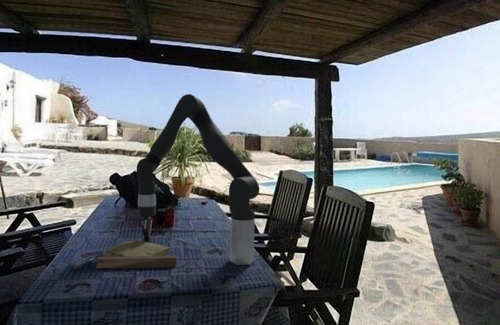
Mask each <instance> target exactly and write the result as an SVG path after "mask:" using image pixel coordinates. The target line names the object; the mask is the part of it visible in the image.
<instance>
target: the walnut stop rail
mask: <svg viewBox="0 0 500 325" xmlns="http://www.w3.org/2000/svg"><path fill="white" fill-rule="evenodd" d="M177 260H178V256H177V255H164V256H127V257H105V256H98V257H97V258H96V270H97V269H98V268H100V269H101V268H110V269H137V268H138V269H139V268H140V269H141V268H142V269H143V268H144V269H145V268H177V265H178V264H177V263H178V261H177ZM100 269H98V270H100ZM101 270H102V269H101Z"/></svg>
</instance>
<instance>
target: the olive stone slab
mask: <svg viewBox="0 0 500 325" xmlns="http://www.w3.org/2000/svg"><path fill="white" fill-rule="evenodd" d="M169 253H171V247H170V246H168V245H163V244H158V243H152V242H150V243H148V242H144V241H142V240H138V239H132V240H129V241H125V242H121V243H119V244H116V245H114V246H111V247H109V248H107V249H106V250H105V253H104V254H103V257H127V256H167V255H168V254H169Z"/></svg>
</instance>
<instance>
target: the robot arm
mask: <svg viewBox="0 0 500 325" xmlns="http://www.w3.org/2000/svg"><path fill="white" fill-rule="evenodd" d="M187 119H189V120H190V121H191V122H192V123H193V124H194V125H195V127H196V128H197V129H198V132H199V134H200V138H201V141H202V143H203V146H204V149H205V150H206V151H207V153H208V155H209V156H210V157H211V160H213V161H214V162H215V163H216V164H218V166H220V167H221V168H223V169H224V170H225V171H227V173H228V174H229V175H230V176H231V177H232V178H233V179H232V180H231V182H230V184H229V188H228V208H229V212H230V235H229V236H230V240H229V242H230V243H229V246H230V247H229V262H230V263H231V264H234V266H241V265H244V266H246V265H252V263H253V262H254V248H255V244H254V243H255V222H256V221H255V220H256V219H255V216H256V215H255V213H256V212H255V211H254V210H253V209H252V208H251V207H250V200H253V199H255V198H257V197H258V196H259V193H260V185H259V182H258V180H257V179H256V178H255V177H254V176H253V174H252V173H251V172H250V171H249V170H248V168H247V166H245V164H244V163H243V161H241V159H240V157H239V156H238V154H237V153H236V152H235V149H233V147H232V145H231V144H230V142H229V141H228V139H227V137H226V136H225V135H224V134H223V132H222V131H221V130H220V128H219V127H218V125H217V124H216V123H215V122H214V121H213V118H212V117H211V115H210V114H209V111H208V110H207V108H206V106H205V103H204V102H203V101H202V100H201V99H200V98H198V97H197V96H195V95H193V94H192V93H188V94H184V95H182V96H181V97H180V98H179V100H178V101H177V103H176V105H175V107H174V110H173V111H172V113H171V114H170V117H169V119H168V121H167V123H166V124H165V125H164V127H163V129H162V131H161V132H160V133H159V135H158V136H157V138H156V139H155V140H154V142H153V143H152V145H151V147H150V148H149V149H150V150H149V152H148V153H147V155H146V156H144V158H142V159H140V160H138V162H137V164H136V178H137V182H138V196H137V215H138V216H139V217H143V218H142V220H141V229H142V235H143V242H148V243H151V240H150V238H151V236H150V235H151V233H152V223H153V218H151V217H155V216H156V215H157V195H156V182H155V180H154V172H156V170H157V169H158V168H159V166H160V165H161V163H162V162H163V160H164V158H165V156H167V155H168V153H169V151H170V150H171V148H172V147H173V146H174V145H175V142H176V140H177V137H178V134H179V131H180V128H181V126H182V125H183V123H184V122H185V121H186V120H187Z"/></svg>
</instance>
